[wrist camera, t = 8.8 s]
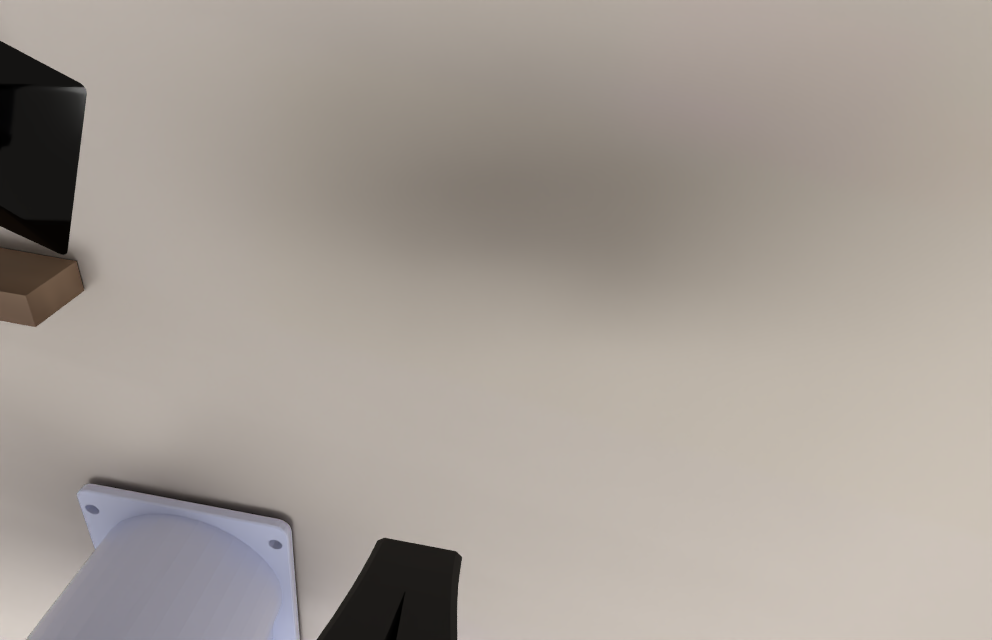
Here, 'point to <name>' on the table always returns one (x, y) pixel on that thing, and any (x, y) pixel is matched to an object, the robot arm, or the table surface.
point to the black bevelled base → (38, 148)
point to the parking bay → (35, 286)
